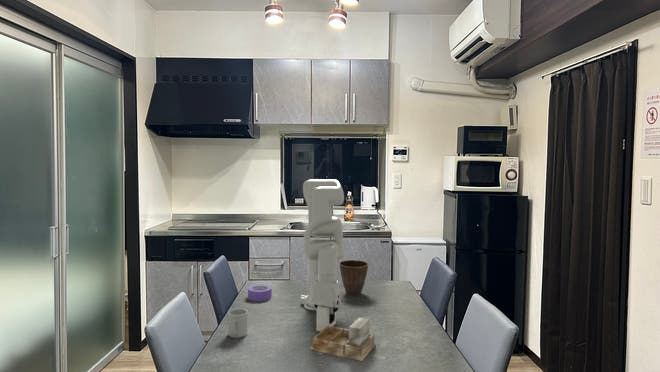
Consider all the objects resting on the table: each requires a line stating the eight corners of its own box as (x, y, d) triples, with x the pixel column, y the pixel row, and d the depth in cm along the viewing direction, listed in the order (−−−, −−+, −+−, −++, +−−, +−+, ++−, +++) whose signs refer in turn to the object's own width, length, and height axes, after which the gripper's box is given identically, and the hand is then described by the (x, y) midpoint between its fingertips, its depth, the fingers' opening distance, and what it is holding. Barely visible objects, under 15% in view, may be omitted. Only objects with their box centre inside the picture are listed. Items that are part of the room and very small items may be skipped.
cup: (249, 331, 163) (249, 309, 162) (241, 341, 153) (241, 318, 152) (232, 330, 163) (232, 308, 163) (223, 340, 153) (223, 317, 153)
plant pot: (368, 298, 205) (369, 267, 205) (339, 298, 205) (339, 266, 205) (366, 289, 220) (367, 260, 219) (339, 289, 220) (339, 260, 220)
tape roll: (276, 297, 205) (276, 287, 205) (257, 303, 197) (257, 293, 196) (261, 292, 213) (261, 283, 213) (243, 297, 205) (243, 288, 204)
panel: (316, 330, 161) (316, 308, 161) (327, 321, 170) (327, 300, 170) (325, 332, 160) (325, 310, 159) (335, 323, 169) (336, 301, 168)
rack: (310, 349, 147) (311, 322, 146) (327, 335, 160) (327, 309, 159) (362, 361, 138) (362, 332, 138) (375, 344, 152) (375, 318, 151)
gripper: (304, 276, 163) (303, 321, 165) (342, 282, 157) (341, 329, 158) (312, 271, 170) (312, 314, 172) (350, 277, 163) (349, 321, 165)
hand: (326, 320), depth 165 cm, fingers closed on panel, 4 cm apart
